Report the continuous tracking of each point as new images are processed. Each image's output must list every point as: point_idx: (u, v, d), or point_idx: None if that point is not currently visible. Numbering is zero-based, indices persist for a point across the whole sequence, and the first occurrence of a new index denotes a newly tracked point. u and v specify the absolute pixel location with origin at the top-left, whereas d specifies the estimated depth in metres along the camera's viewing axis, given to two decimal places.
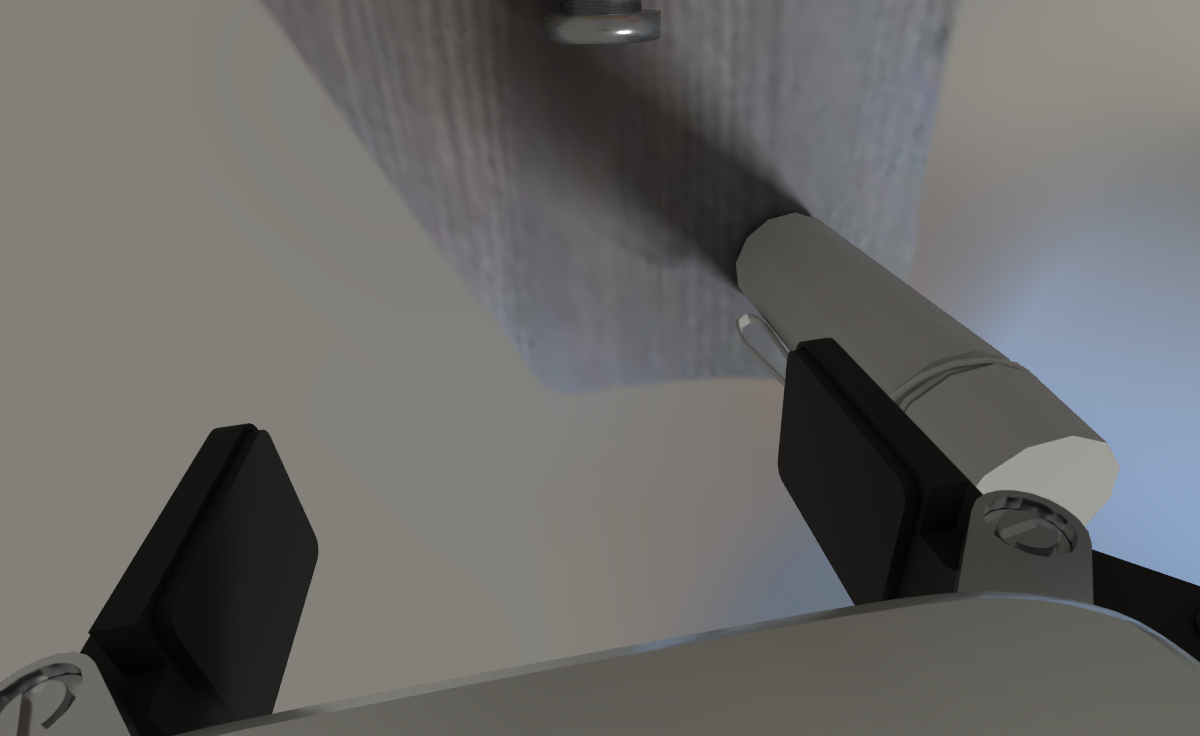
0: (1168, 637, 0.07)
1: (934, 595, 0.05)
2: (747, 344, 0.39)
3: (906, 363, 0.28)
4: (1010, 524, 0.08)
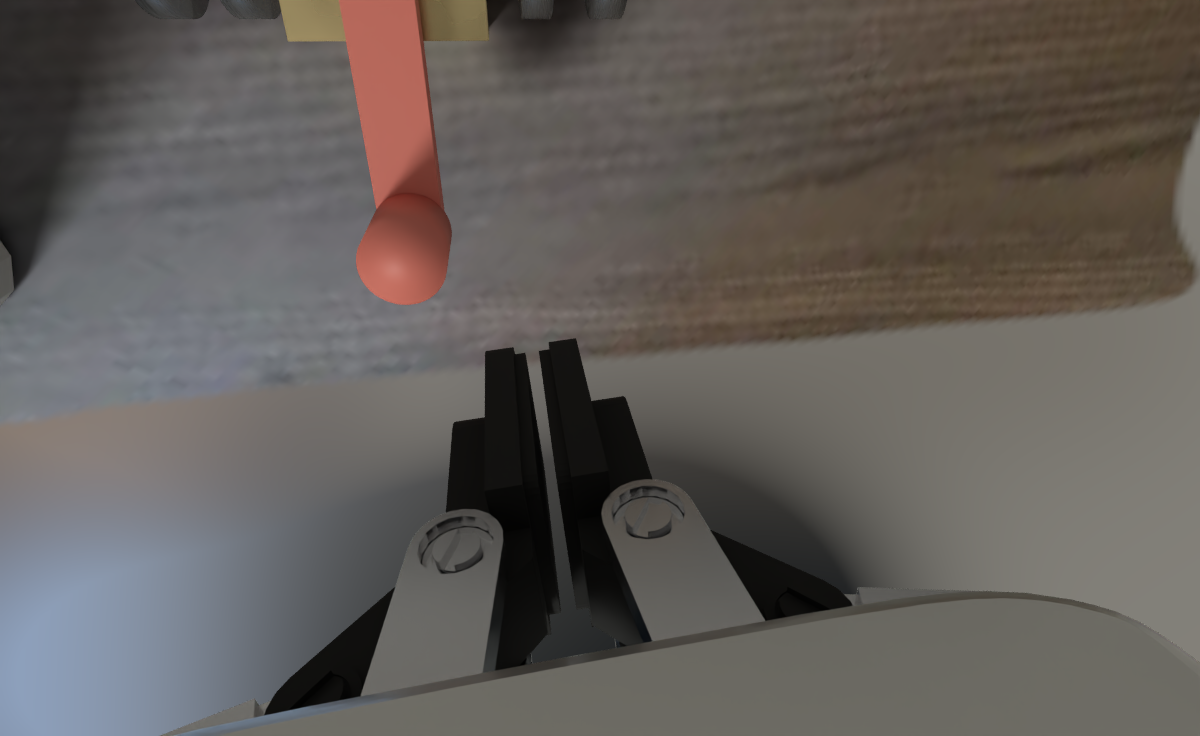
0: None
1: (934, 595, 0.05)
2: None
3: None
4: (634, 518, 0.08)
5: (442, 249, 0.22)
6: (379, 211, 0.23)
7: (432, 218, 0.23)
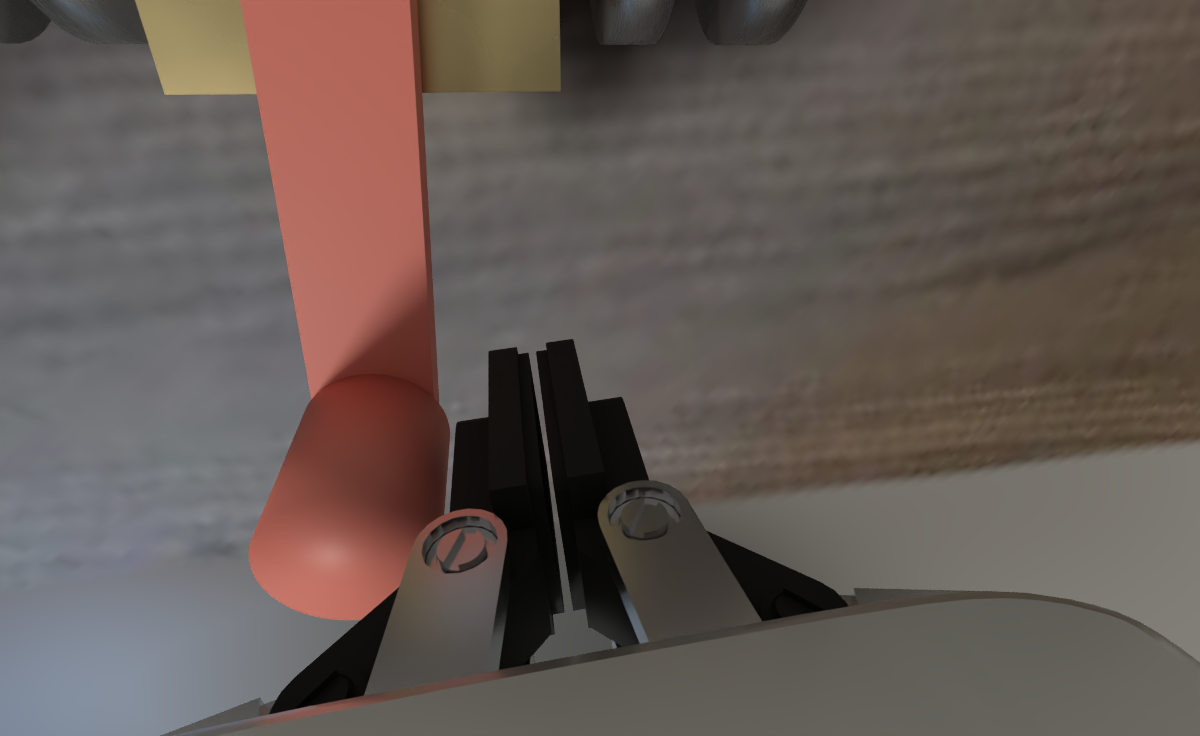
0: None
1: (934, 595, 0.05)
2: None
3: None
4: (630, 519, 0.08)
5: None
6: (312, 424, 0.12)
7: (417, 447, 0.12)
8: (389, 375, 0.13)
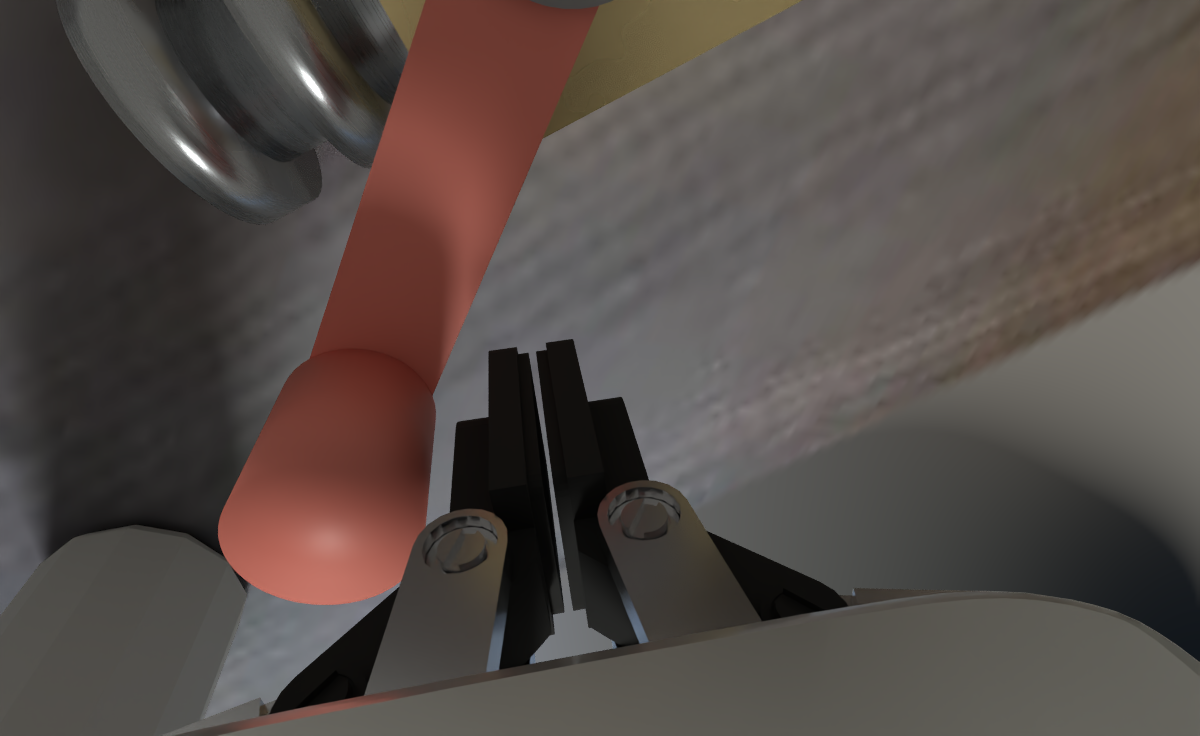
0: None
1: (934, 595, 0.05)
2: None
3: None
4: (631, 519, 0.08)
5: None
6: (318, 386, 0.11)
7: (420, 442, 0.11)
8: (400, 360, 0.12)
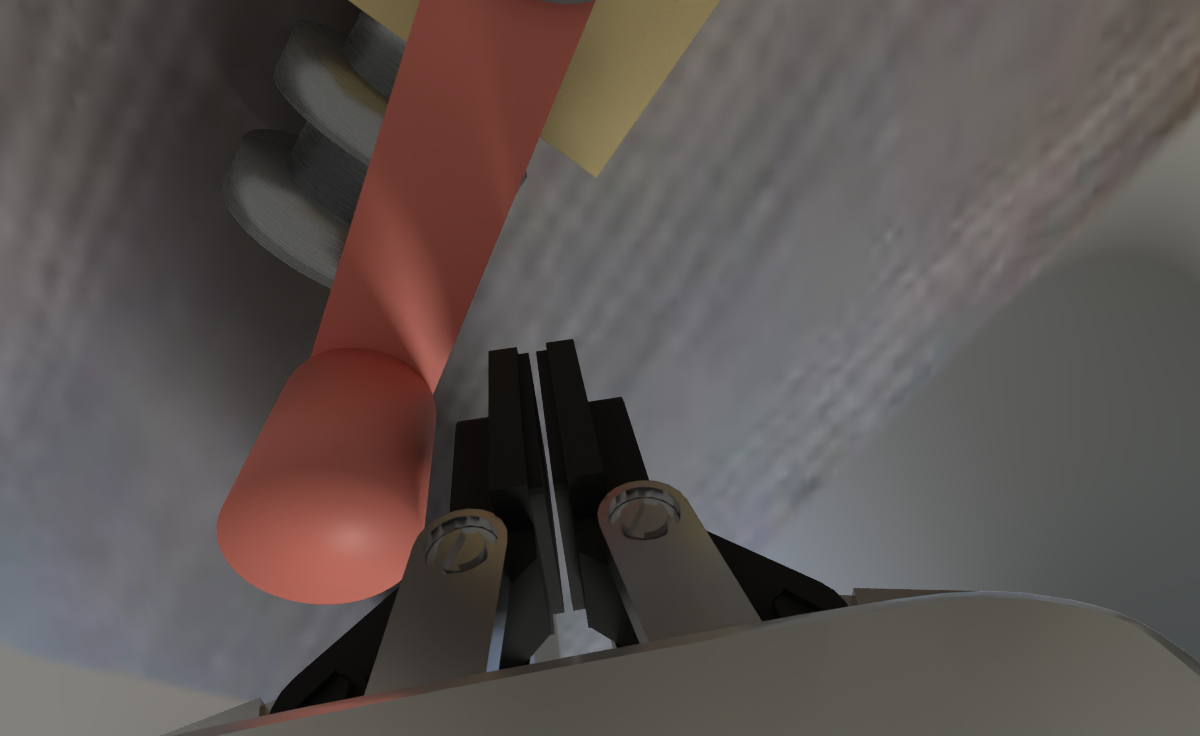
0: None
1: (934, 595, 0.05)
2: None
3: None
4: (631, 519, 0.08)
5: None
6: (318, 386, 0.11)
7: (420, 441, 0.11)
8: (400, 359, 0.12)
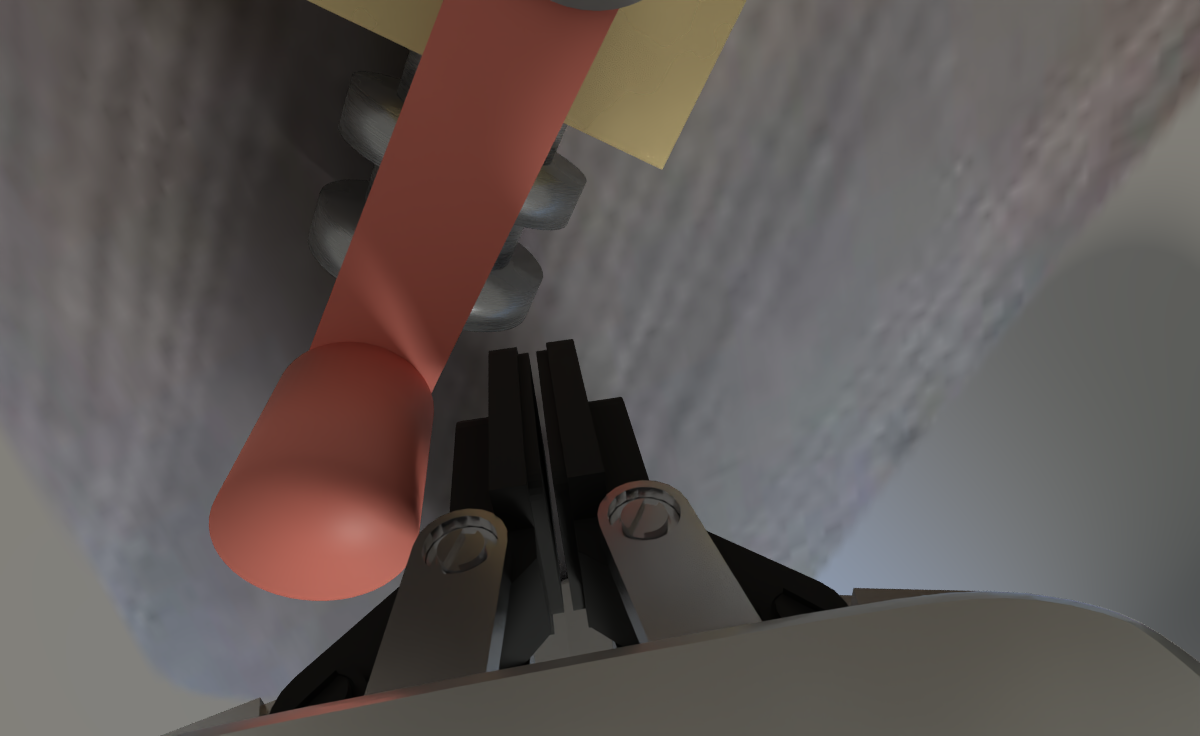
0: None
1: (934, 595, 0.05)
2: None
3: None
4: (631, 519, 0.08)
5: (418, 531, 0.10)
6: (318, 378, 0.11)
7: (418, 439, 0.11)
8: (400, 356, 0.12)
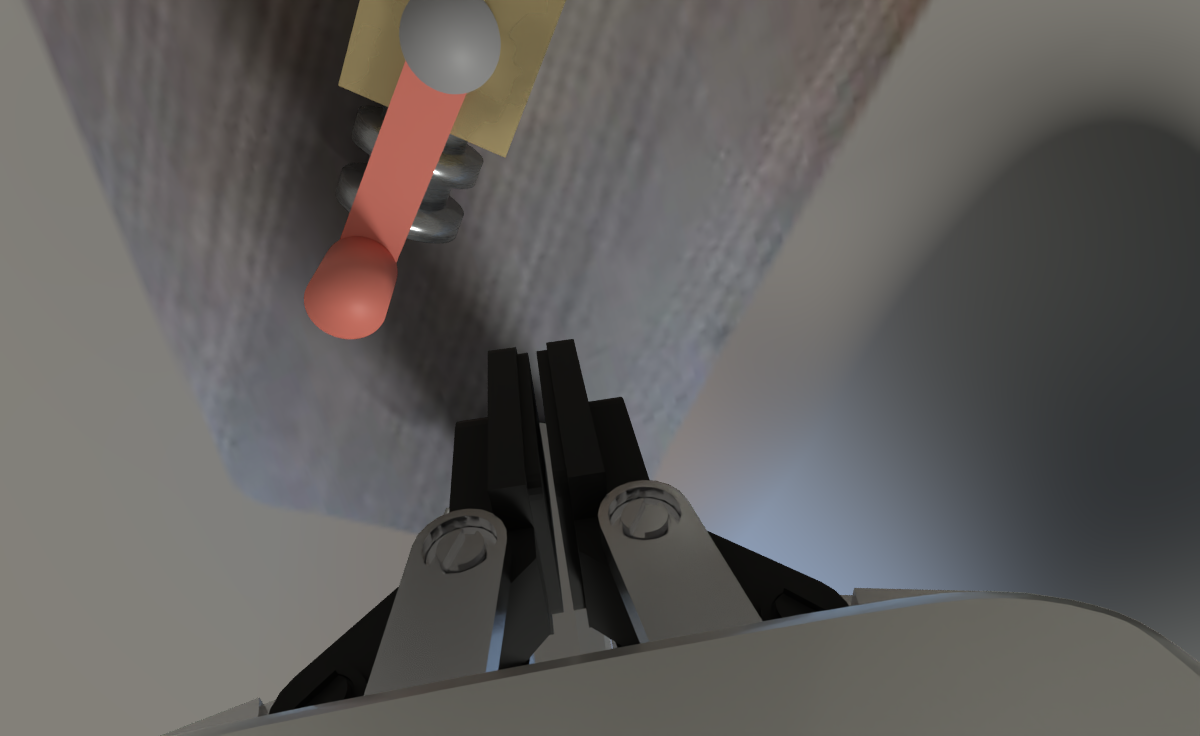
0: None
1: (934, 595, 0.05)
2: None
3: None
4: (631, 519, 0.08)
5: (386, 307, 0.25)
6: (344, 247, 0.25)
7: (388, 275, 0.26)
8: (381, 244, 0.27)
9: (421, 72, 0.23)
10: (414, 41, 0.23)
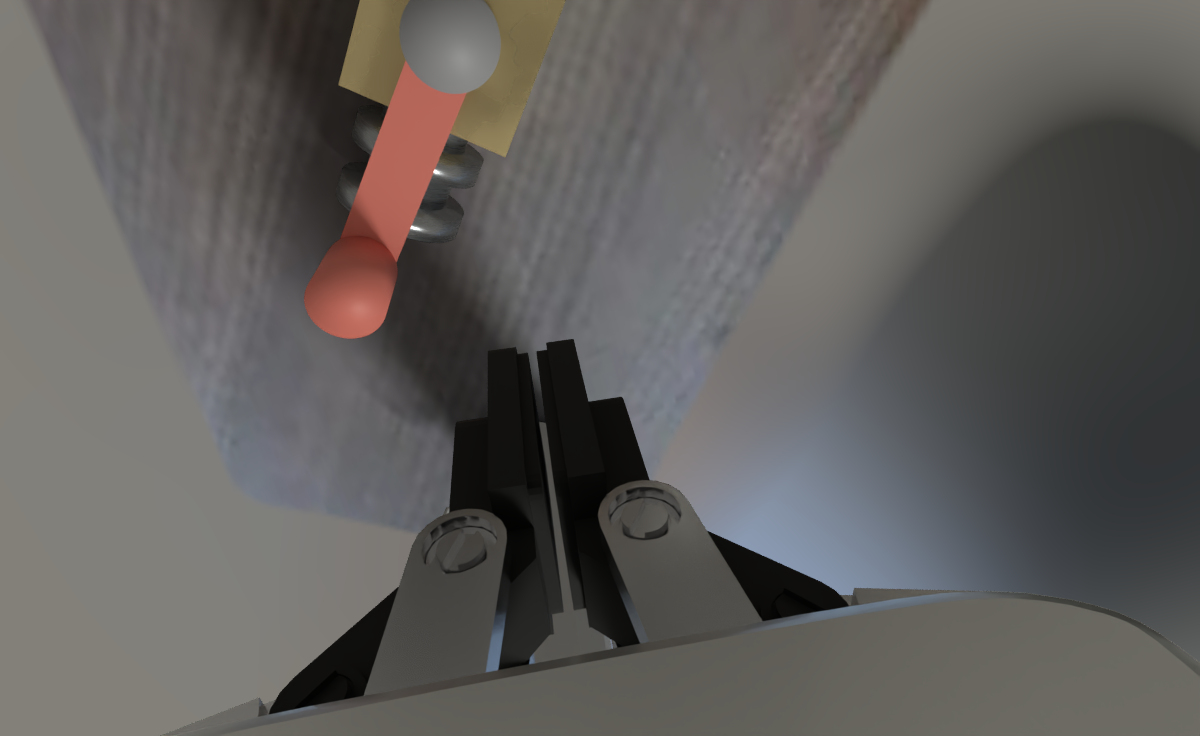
0: None
1: (934, 595, 0.05)
2: None
3: None
4: (631, 519, 0.08)
5: (386, 307, 0.25)
6: (344, 247, 0.25)
7: (388, 275, 0.26)
8: (381, 243, 0.27)
9: (421, 72, 0.23)
10: (414, 41, 0.23)
